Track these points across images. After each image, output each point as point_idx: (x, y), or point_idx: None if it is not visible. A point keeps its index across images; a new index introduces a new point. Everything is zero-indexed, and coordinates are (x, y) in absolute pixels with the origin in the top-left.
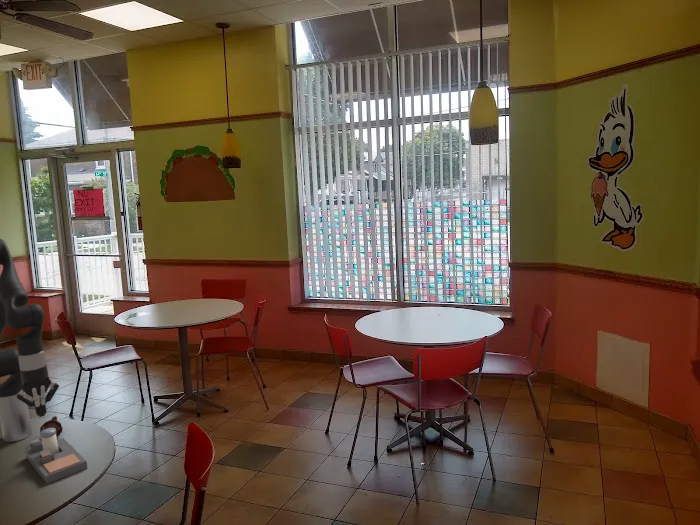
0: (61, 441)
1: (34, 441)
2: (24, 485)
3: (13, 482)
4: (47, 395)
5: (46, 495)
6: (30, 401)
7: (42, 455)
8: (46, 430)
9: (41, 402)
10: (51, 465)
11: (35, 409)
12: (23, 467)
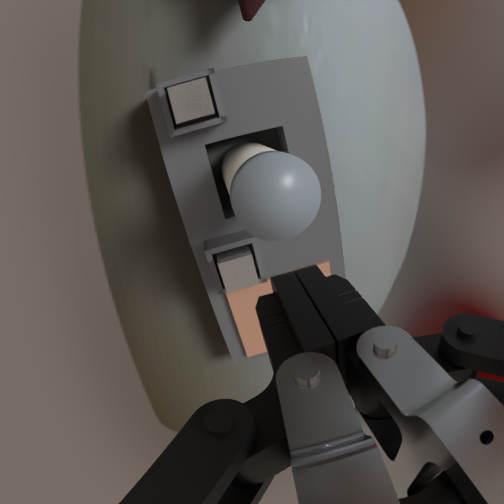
0: (297, 86)
1: (186, 103)
2: (168, 322)
3: (130, 284)
4: (489, 370)
5: (232, 392)
6: (246, 460)
7: (228, 289)
8: (271, 184)
9: (367, 429)
10: (253, 315)
11: (268, 351)
12: (144, 181)
